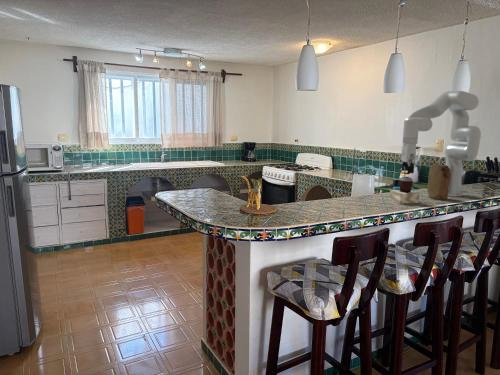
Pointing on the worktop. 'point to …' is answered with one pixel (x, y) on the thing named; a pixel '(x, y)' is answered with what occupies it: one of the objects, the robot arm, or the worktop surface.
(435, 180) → the block
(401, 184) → the mate gourd
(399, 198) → the maple block
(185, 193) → the worktop surface
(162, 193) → the worktop surface
